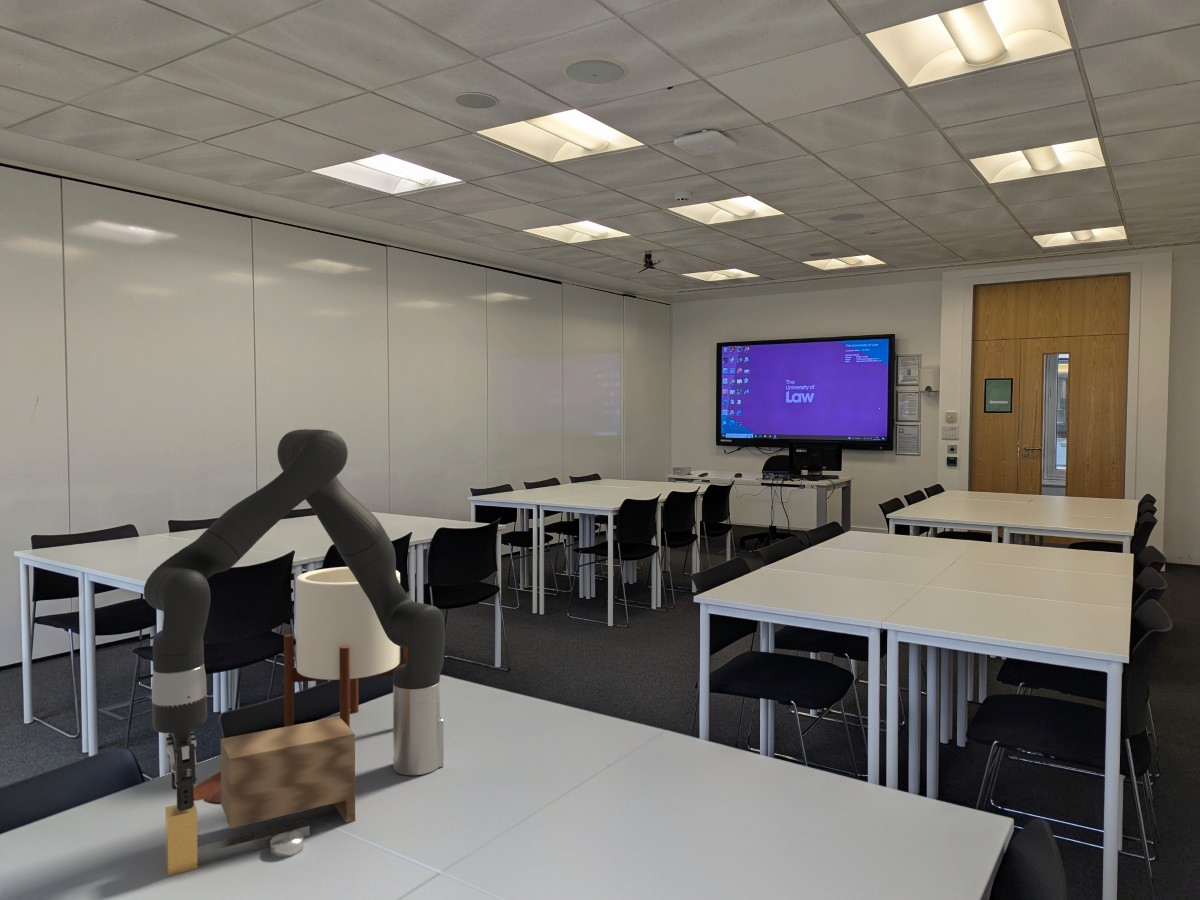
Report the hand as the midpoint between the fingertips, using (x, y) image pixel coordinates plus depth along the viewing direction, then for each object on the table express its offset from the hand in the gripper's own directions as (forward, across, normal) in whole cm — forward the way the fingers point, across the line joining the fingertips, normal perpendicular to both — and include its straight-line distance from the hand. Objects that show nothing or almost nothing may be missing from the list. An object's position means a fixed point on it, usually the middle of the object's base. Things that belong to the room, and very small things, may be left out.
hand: (182, 797), depth 125 cm
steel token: (+11, -4, -15) cm, 19 cm away
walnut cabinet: (+11, +5, -17) cm, 20 cm away
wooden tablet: (+12, +32, -14) cm, 37 cm away
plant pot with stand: (+12, +43, -38) cm, 58 cm away
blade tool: (+11, 0, -8) cm, 14 cm away
